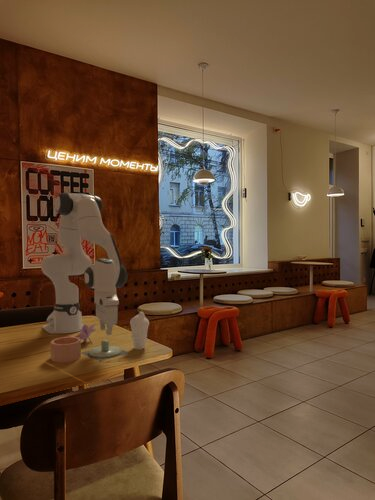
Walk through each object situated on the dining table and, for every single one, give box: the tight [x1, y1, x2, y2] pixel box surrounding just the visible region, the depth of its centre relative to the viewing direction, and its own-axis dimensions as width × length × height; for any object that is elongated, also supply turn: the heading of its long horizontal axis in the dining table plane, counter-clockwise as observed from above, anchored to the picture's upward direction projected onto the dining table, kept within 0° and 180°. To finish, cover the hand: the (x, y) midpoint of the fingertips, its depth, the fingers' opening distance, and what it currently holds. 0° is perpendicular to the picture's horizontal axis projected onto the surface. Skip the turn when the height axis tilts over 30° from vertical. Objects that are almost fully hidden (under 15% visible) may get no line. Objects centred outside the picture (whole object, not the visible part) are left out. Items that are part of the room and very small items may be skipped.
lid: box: [88, 339, 122, 358], centre depth 146 cm, size 13×13×5 cm
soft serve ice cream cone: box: [129, 311, 150, 350], centre depth 153 cm, size 8×8×16 cm
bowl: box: [50, 336, 82, 364], centre depth 140 cm, size 11×11×7 cm
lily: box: [74, 323, 97, 345], centre depth 158 cm, size 12×12×10 cm
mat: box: [81, 344, 130, 362], centre depth 146 cm, size 14×14×1 cm
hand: (105, 332), depth 145 cm, fingers open, 8 cm apart
